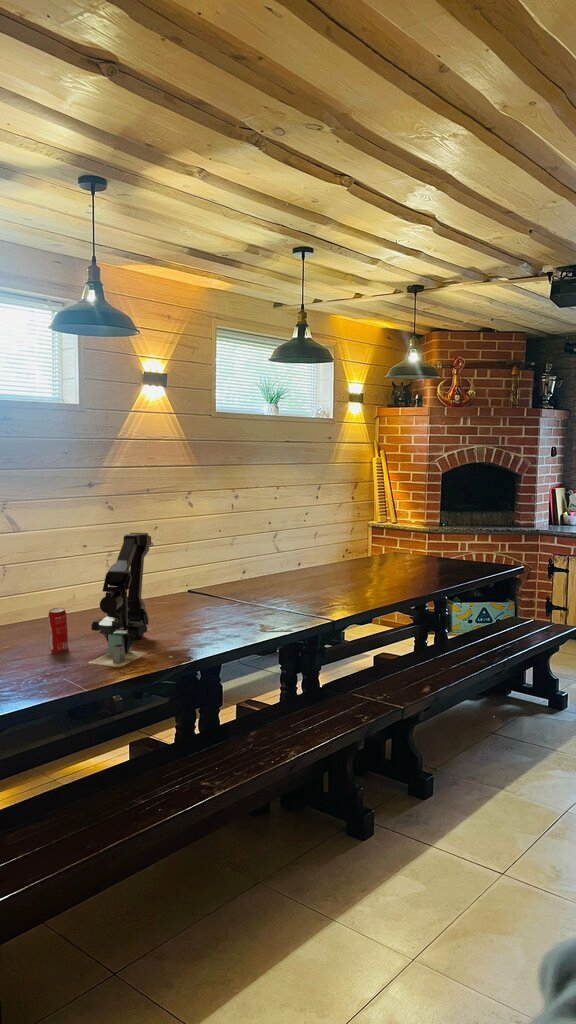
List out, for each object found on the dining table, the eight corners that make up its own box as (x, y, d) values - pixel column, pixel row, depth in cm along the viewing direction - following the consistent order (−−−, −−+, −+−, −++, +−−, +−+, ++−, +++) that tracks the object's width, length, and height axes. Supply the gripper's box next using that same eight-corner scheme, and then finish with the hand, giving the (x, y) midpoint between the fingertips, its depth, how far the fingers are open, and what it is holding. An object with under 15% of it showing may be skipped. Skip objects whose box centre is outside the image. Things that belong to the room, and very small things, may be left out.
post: (117, 660, 231) (117, 644, 230) (124, 661, 230) (124, 645, 229) (113, 663, 228) (112, 646, 228) (119, 664, 227) (119, 647, 227)
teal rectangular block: (117, 649, 243) (117, 630, 242) (130, 651, 241) (130, 632, 240) (108, 653, 238) (108, 634, 237) (121, 655, 236) (121, 636, 236)
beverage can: (70, 649, 246) (69, 606, 245) (65, 655, 240) (64, 611, 238) (53, 649, 246) (51, 606, 244) (47, 655, 239) (46, 611, 238)
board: (117, 651, 244) (117, 649, 243) (147, 656, 239) (147, 653, 239) (87, 665, 229) (87, 662, 229) (119, 670, 224) (119, 667, 224)
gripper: (80, 609, 234) (81, 655, 236) (128, 614, 227) (129, 662, 229) (101, 602, 244) (101, 646, 246) (147, 607, 237) (148, 652, 239)
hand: (119, 651), depth 240 cm, fingers closed on teal rectangular block, 5 cm apart
